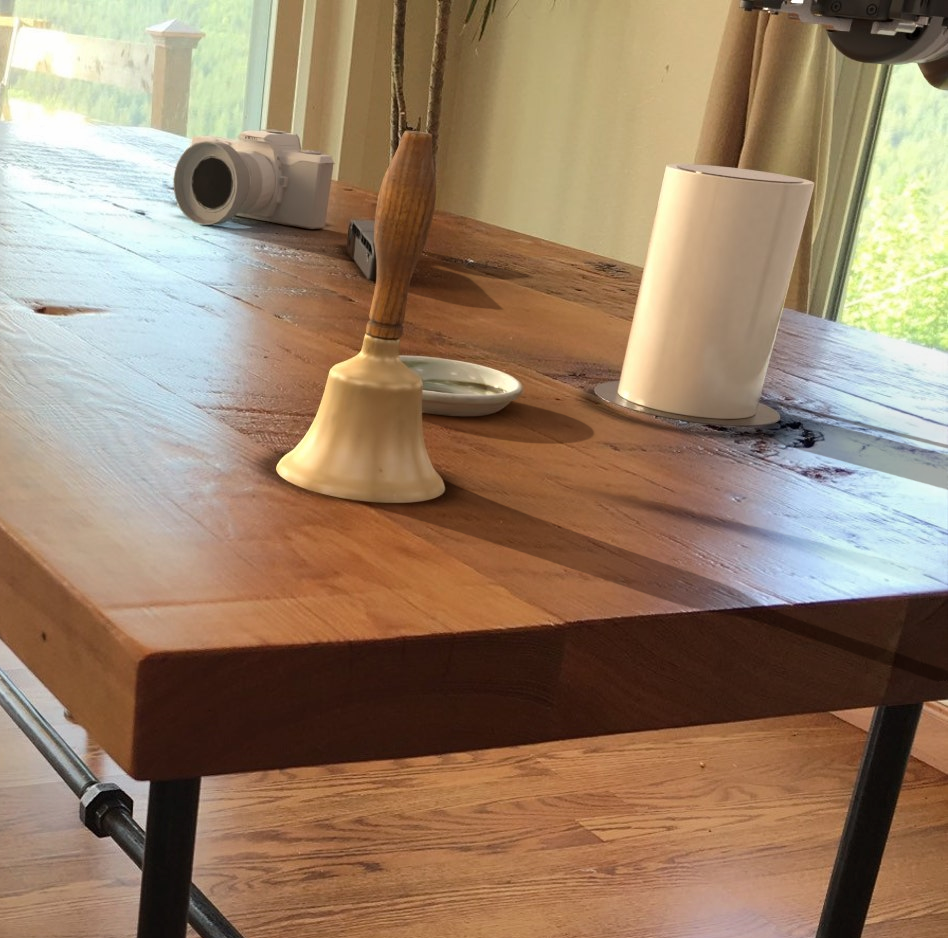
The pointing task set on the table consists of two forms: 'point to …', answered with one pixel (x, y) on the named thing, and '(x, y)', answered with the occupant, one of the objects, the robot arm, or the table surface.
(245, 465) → the table surface
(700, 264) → the tall white cylinder
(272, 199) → the digital camera
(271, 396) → the table surface
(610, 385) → the disc
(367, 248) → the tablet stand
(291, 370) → the table surface
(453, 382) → the saucer
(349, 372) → the hand bell
